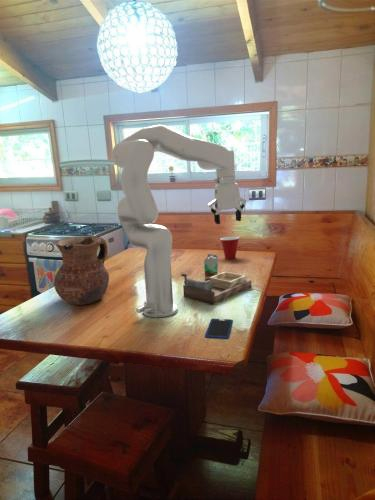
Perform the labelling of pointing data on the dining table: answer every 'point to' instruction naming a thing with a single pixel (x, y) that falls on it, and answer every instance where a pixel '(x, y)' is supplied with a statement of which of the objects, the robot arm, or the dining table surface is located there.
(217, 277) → the crate
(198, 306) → the dining table surface
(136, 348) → the dining table surface
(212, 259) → the food container
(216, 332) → the cell phone
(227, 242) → the plastic cup
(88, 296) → the jug
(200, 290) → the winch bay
